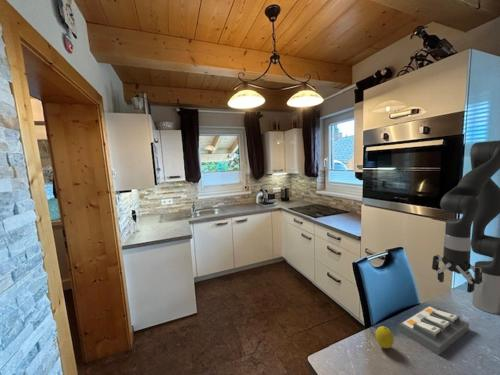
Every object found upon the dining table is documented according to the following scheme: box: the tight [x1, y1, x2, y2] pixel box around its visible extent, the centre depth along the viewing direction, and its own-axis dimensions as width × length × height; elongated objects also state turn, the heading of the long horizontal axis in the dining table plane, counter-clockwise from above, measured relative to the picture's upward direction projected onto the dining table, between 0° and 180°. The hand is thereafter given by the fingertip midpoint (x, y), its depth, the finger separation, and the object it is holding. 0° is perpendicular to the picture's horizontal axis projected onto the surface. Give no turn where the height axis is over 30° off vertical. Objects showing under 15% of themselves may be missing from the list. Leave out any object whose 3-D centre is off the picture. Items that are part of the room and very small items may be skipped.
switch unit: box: [398, 304, 470, 356], centre depth 86 cm, size 24×13×5 cm, turn 117°
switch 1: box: [417, 322, 440, 335], centre depth 82 cm, size 4×6×1 cm, turn 27°
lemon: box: [375, 325, 394, 349], centre depth 79 cm, size 6×6×8 cm
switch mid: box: [427, 316, 449, 327], centre depth 85 cm, size 4×6×1 cm, turn 27°
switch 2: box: [435, 310, 458, 321], centre depth 89 cm, size 4×6×1 cm, turn 27°
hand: (454, 286), depth 85 cm, fingers open, 8 cm apart
